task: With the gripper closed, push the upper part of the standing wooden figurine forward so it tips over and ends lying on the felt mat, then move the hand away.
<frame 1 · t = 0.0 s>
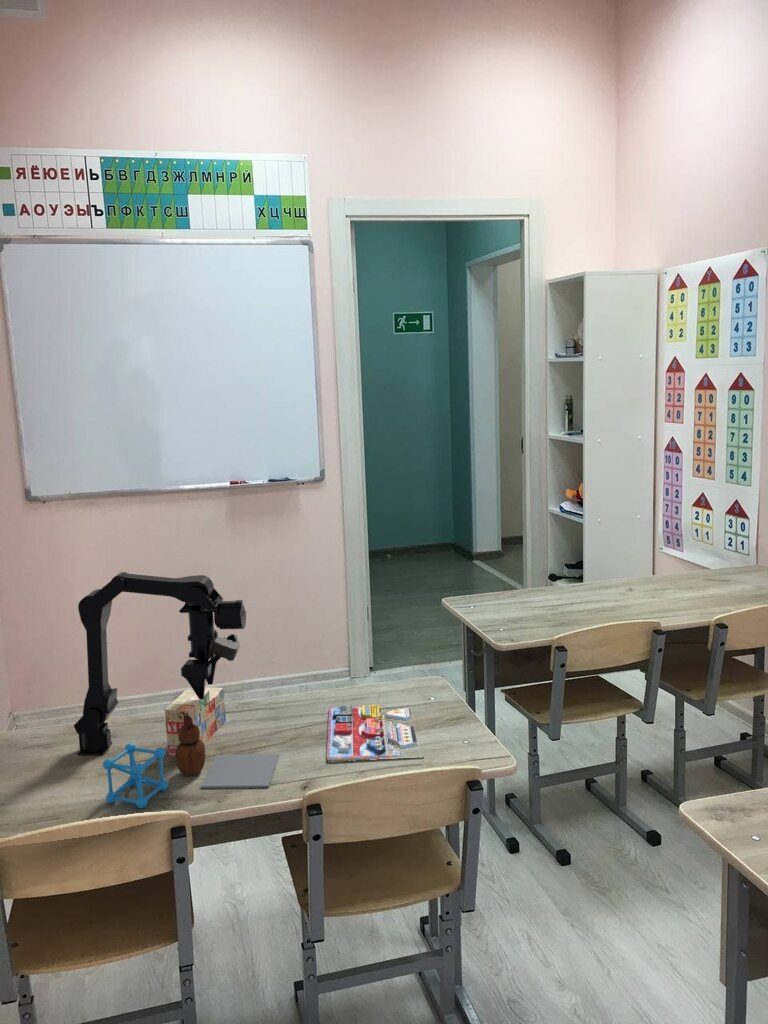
hand: (206, 691, 201), 15 cm above the table, tool pointing down, fingers open, 9 cm apart
wooden figurine: (191, 773, 192), on the table
puzzle board: (373, 735, 210), on the table
molecular structure: (137, 797, 182), on the table
stack of blocks: (198, 739, 210), on the table
felt mat: (241, 771, 191), on the table
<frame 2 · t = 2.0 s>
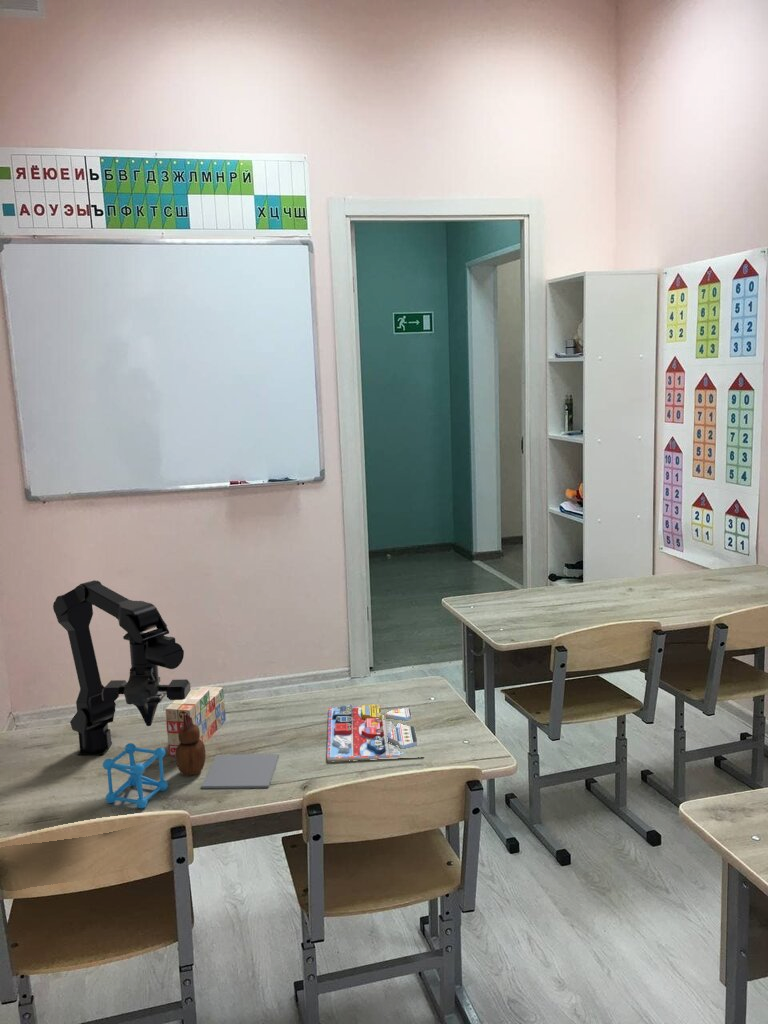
hand: (149, 725, 190), 12 cm above the table, tool pointing down, fingers closed
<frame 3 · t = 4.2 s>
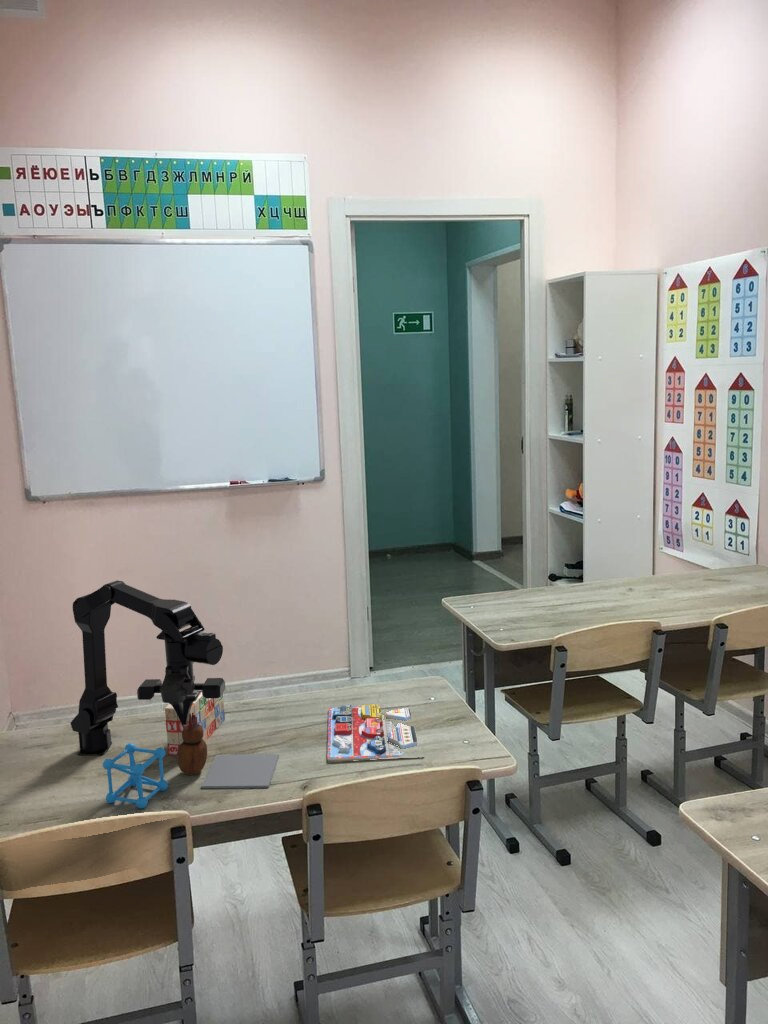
hand: (184, 724, 190), 12 cm above the table, tool pointing down, fingers closed
wooden figurine: (191, 772, 192), on the table, touching gripper
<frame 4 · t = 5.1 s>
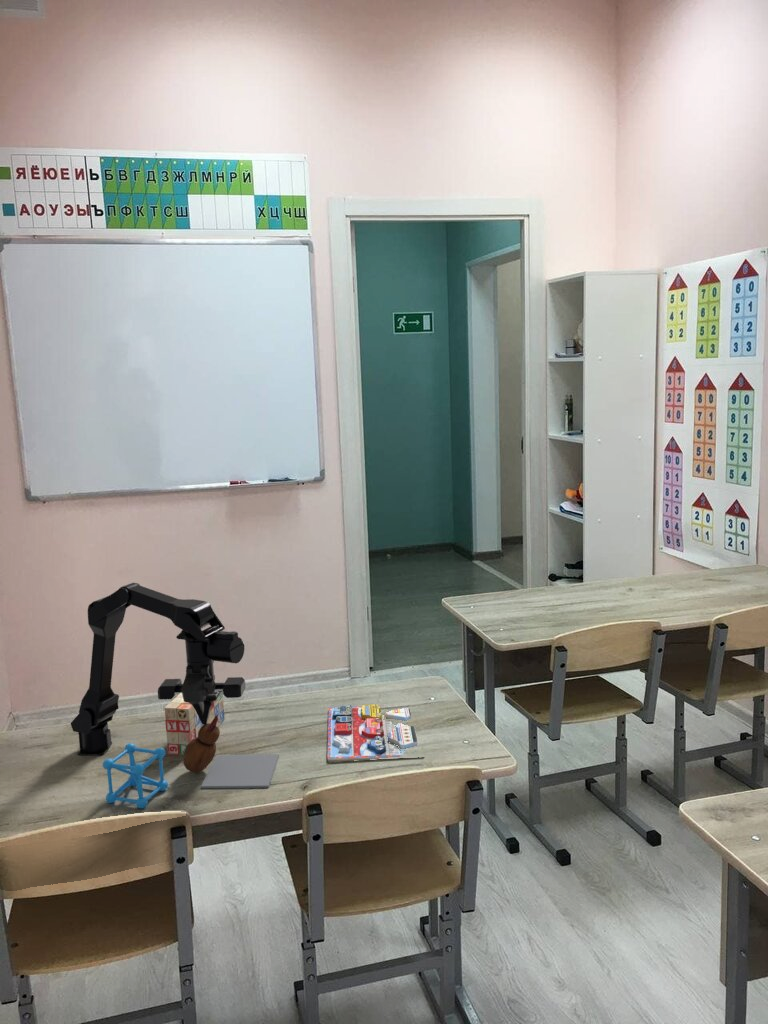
hand: (204, 723, 189), 12 cm above the table, tool pointing down, fingers closed
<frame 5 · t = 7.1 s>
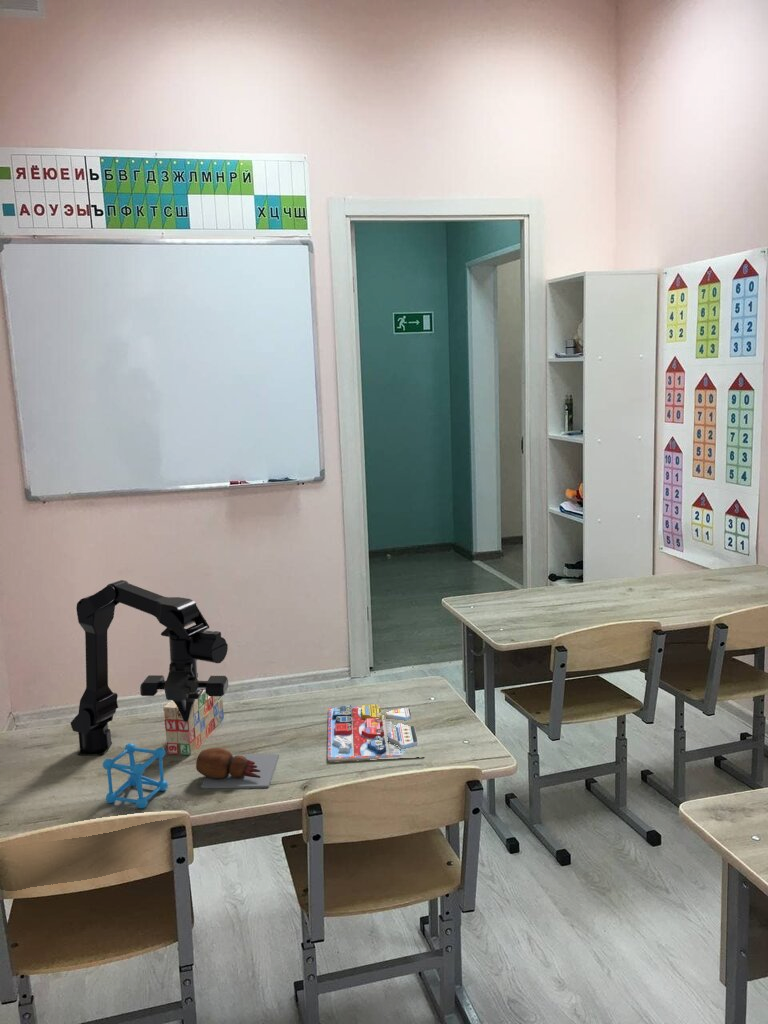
hand: (186, 721, 190), 12 cm above the table, tool pointing down, fingers closed
wooden figurine: (197, 760, 189), point 4 cm above the table, touching felt mat
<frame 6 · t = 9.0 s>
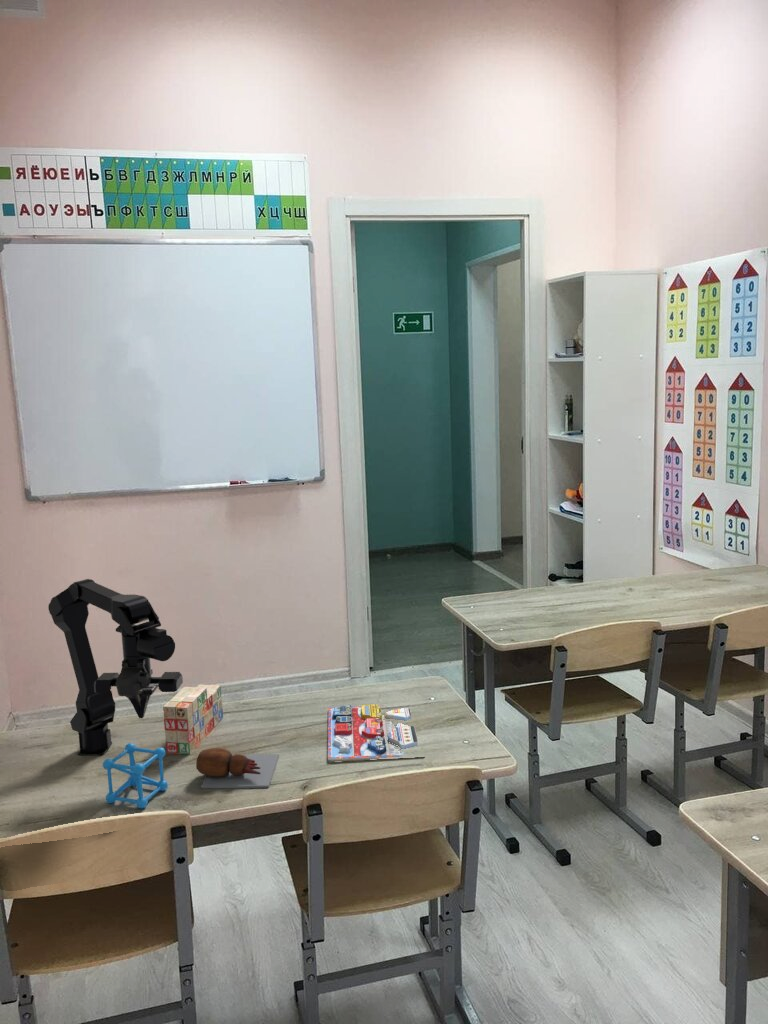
hand: (141, 717, 191), 13 cm above the table, tool pointing down, fingers closed
at the end: wooden figurine tilted 93°; wooden figurine inside the target area (7.6 cm from its centre), point 3.7 cm above the table; the gripper is holding nothing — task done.
